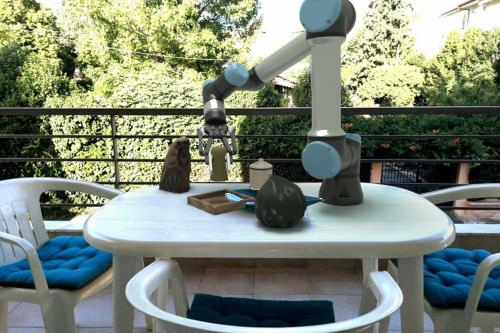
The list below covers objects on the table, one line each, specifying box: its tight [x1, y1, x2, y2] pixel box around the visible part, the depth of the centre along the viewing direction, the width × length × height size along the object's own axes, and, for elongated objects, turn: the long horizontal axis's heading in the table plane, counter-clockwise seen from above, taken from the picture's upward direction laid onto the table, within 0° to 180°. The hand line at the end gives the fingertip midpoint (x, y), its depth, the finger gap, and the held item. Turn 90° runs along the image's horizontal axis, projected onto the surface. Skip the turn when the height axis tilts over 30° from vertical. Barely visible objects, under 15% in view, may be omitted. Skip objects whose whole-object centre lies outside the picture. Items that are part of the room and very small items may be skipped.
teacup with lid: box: [248, 158, 274, 189], centre depth 148 cm, size 12×9×12 cm
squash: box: [254, 174, 308, 229], centre depth 108 cm, size 14×15×15 cm
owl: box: [158, 135, 193, 194], centre depth 145 cm, size 13×13×20 cm
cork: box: [209, 145, 229, 183], centre depth 125 cm, size 6×6×11 cm
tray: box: [186, 188, 256, 216], centre depth 127 cm, size 16×16×2 cm
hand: (220, 172), depth 122 cm, fingers closed on cork, 5 cm apart
